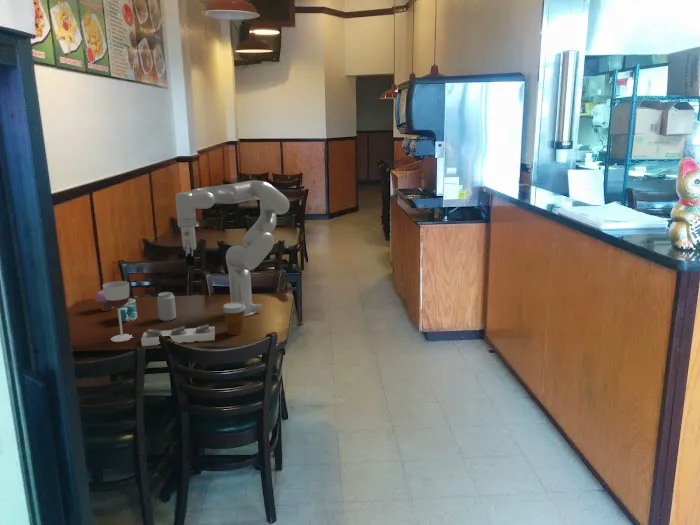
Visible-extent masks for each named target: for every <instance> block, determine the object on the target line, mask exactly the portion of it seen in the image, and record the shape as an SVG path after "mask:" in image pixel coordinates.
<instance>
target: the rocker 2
mask: <svg viewBox="0 0 700 525" xmlns="http://www.w3.org/2000/svg"><path fill="white" fill-rule="evenodd" d="M209 327H210V324H209V323H207V324H203V325H201V326H197V327H195V328H196V332H199V331H203V330H206V329H209Z"/></svg>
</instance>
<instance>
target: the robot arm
mask: <svg viewBox="0 0 700 525" xmlns="http://www.w3.org/2000/svg"><path fill="white" fill-rule="evenodd" d="M252 200H253V201H254V200H259V209H260V211H259V212H260V215H259V217H258V219H257V220H256V221H255V223H254V224H252V226H251V227H250V228H249V229H248V231H247V232H246V233H245V234H244V236H243V239H242V242H243V244H244V246H243V245H232V246H230V247H229V248H228V249H227V250H226V253H225V262H226V266H227V271H228V282H229V292H230V303H231V302H242V303H244V304H245V306H246V308H245V315H244V318H246V316H247V317H250V315H251V316H253V315H255V314H256V313H257V310H258V309H259V310H260V309H261V310H262V309H263V304H260V303H254V301H253V300H252V299H253V297H252V282H251V281H252V280H251V279H252V278H251V271H252V270H254V269H256V268H257V267H258V266H259V265H260V264H261V263H262V262H263V261H264V259H265V258H266V257H267V256H268V255H269V253H270V252H271V251H272V250H273V248H274V245H275V238H274V236H273V234H272V233H273V231H274V229H275V228H276V226H277V215H284V214H287V212H288V211H289V210H290V201H289V199H288V198H287V196H286V195H284V194H283V193H282V192H280V190H278V189H277V188H276V187H274V186H273V185H272V184H271V183H269V182H267V181H264V180H247V181H241V182H235V183H230V184H229V183H227V184H221V185H215V186H214V185H213V186H212V185H211V186H204V187H199V188H194V189H191V190H189V191H184V192H178V193H176V194H175V207H176V217H177V218H176V219H177V226H178V227H179V228H180V232H181V242H182V249H183V250H184V251H185V262H186V266H187V267H188V266H195V264H196V263H195V255H194V251H195V250H196V248H197V246H198V245H197V237H196V228H195V227H197V213H196V210H197V209H199V210H205V209H207V210H208V209H210V208H212V207H213V206H214V205H215V204H229V205H230V204H238V203H241V202H242V203H243V202H249V201H252ZM256 309H257V310H256Z"/></svg>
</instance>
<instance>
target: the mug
mask: <svg viewBox="0 0 700 525" xmlns="http://www.w3.org/2000/svg"><path fill="white" fill-rule="evenodd" d="M116 309H117V311H118V308H116ZM137 311H138V310H137V302H136V299H135V298H129V300H128V302H127V303H126V304H125V305H124V306H122V307H120V314H121V322H122V321H127V322H131V321H130V320H132V321H135V320H136V318H137V319H138V312H137ZM117 317H118V316H117ZM134 319H135V320H134ZM118 320H119V317H118Z"/></svg>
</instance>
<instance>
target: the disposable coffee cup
mask: <svg viewBox="0 0 700 525" xmlns="http://www.w3.org/2000/svg"><path fill="white" fill-rule="evenodd" d="M245 308H246V306H245V304H244V303H242V302H231V301H230V302H227V303H225V304H223V306H222V311H223V314H224V319H225V325H226V329H227V334H228V335H231V336H237V335H238V334H239V335H241V334H243V333H244V329H245V328H244V327H245V317H244V315H245Z"/></svg>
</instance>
